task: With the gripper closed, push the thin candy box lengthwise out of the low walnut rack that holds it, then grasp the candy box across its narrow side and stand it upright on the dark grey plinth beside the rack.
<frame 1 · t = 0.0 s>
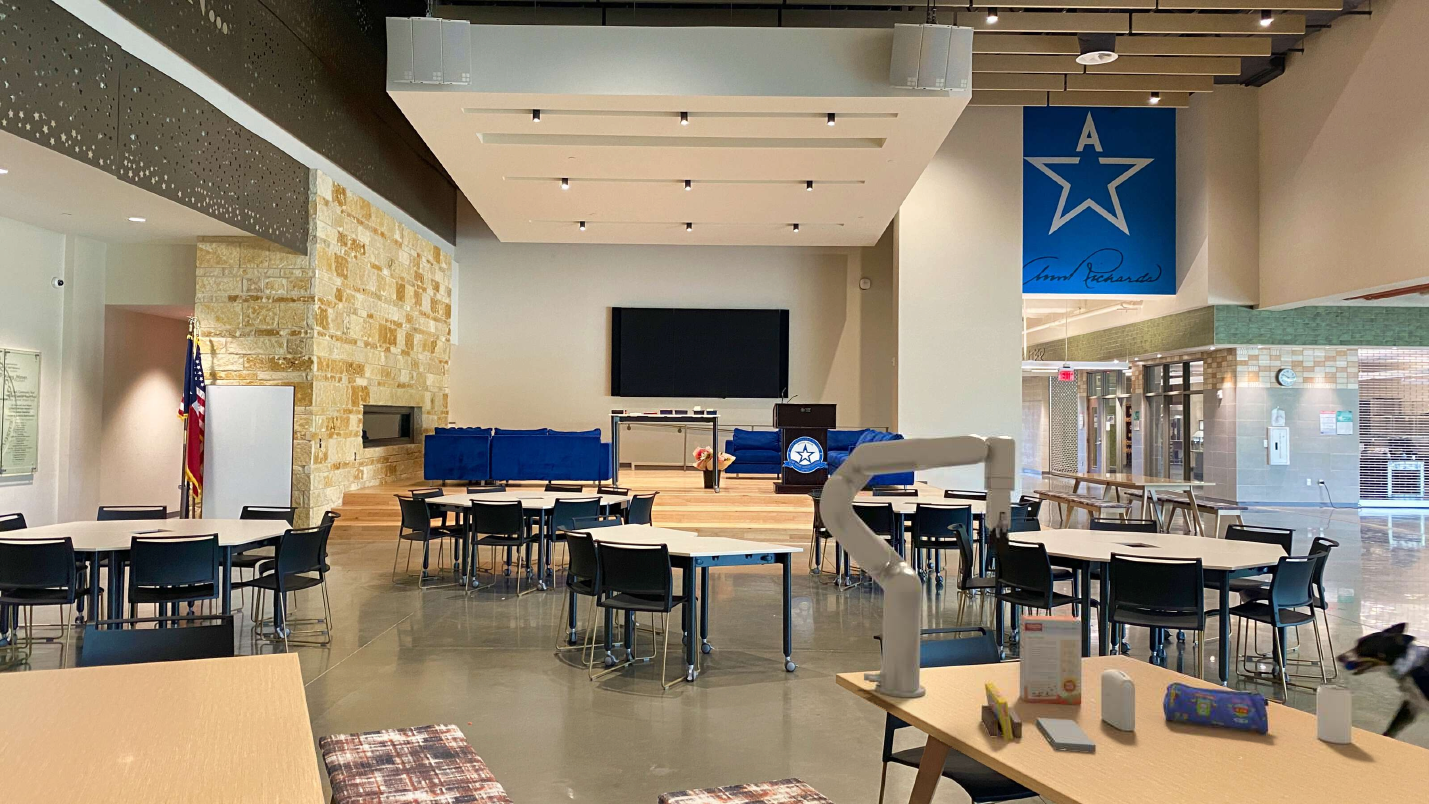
hand: (998, 551, 235), 37 cm above the table, tool pointing down, fingers open, 9 cm apart
grey plinth: (1064, 737, 201), on the table
photo printer: (1117, 725, 212), on the table
candy box: (1000, 729, 206), on the table
pencil case: (1215, 728, 214), on the table
walnut rack: (1000, 729, 206), on the table
can: (1333, 741, 206), on the table
cracker box: (1049, 701, 232), on the table
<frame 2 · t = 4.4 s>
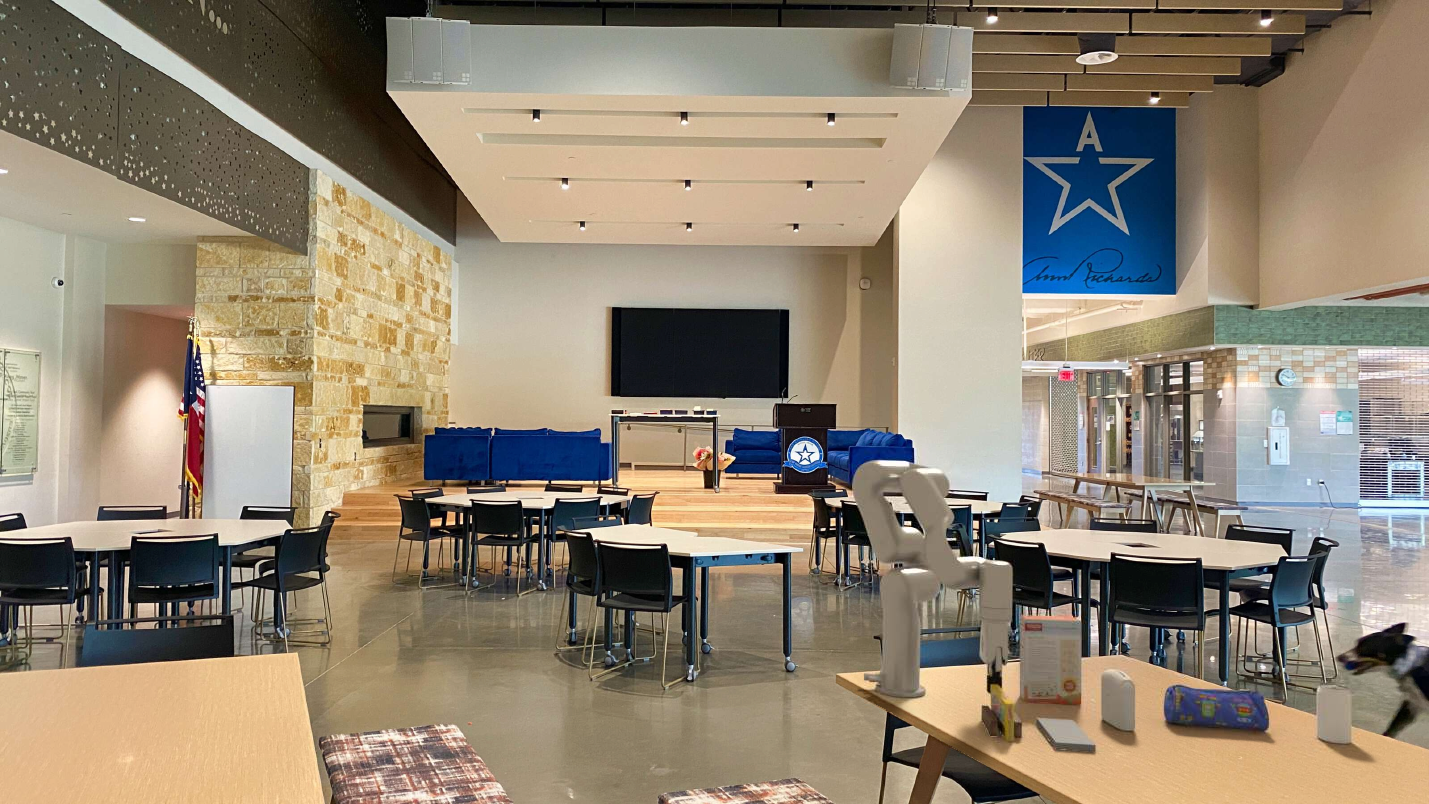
hand: (994, 692, 216), 6 cm above the table, tool pointing down, fingers closed
candy box: (1001, 731, 205), on the table, touching gripper
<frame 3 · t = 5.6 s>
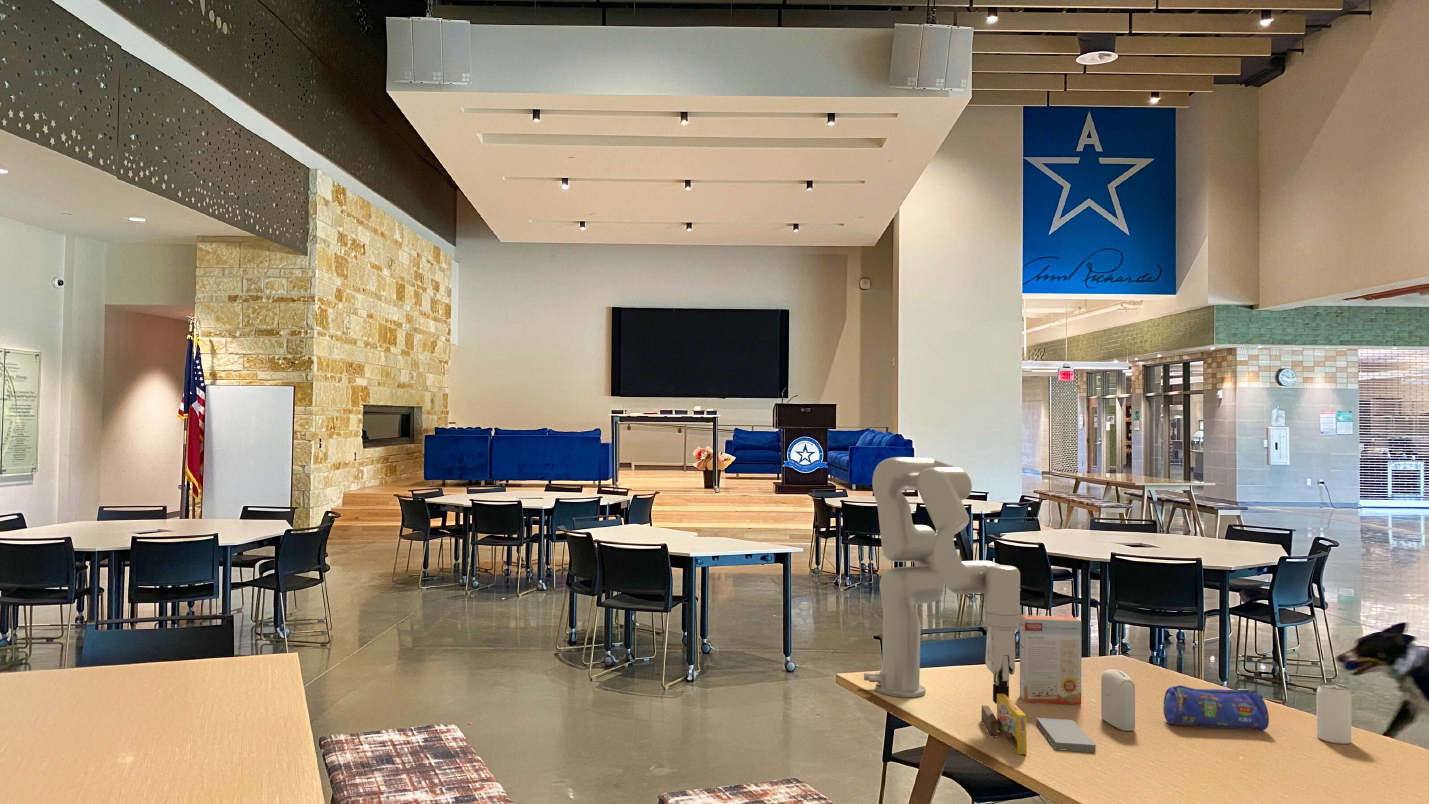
hand: (1000, 702, 207), 6 cm above the table, tool pointing down, fingers closed
candy box: (1010, 743, 197), on the table, touching gripper
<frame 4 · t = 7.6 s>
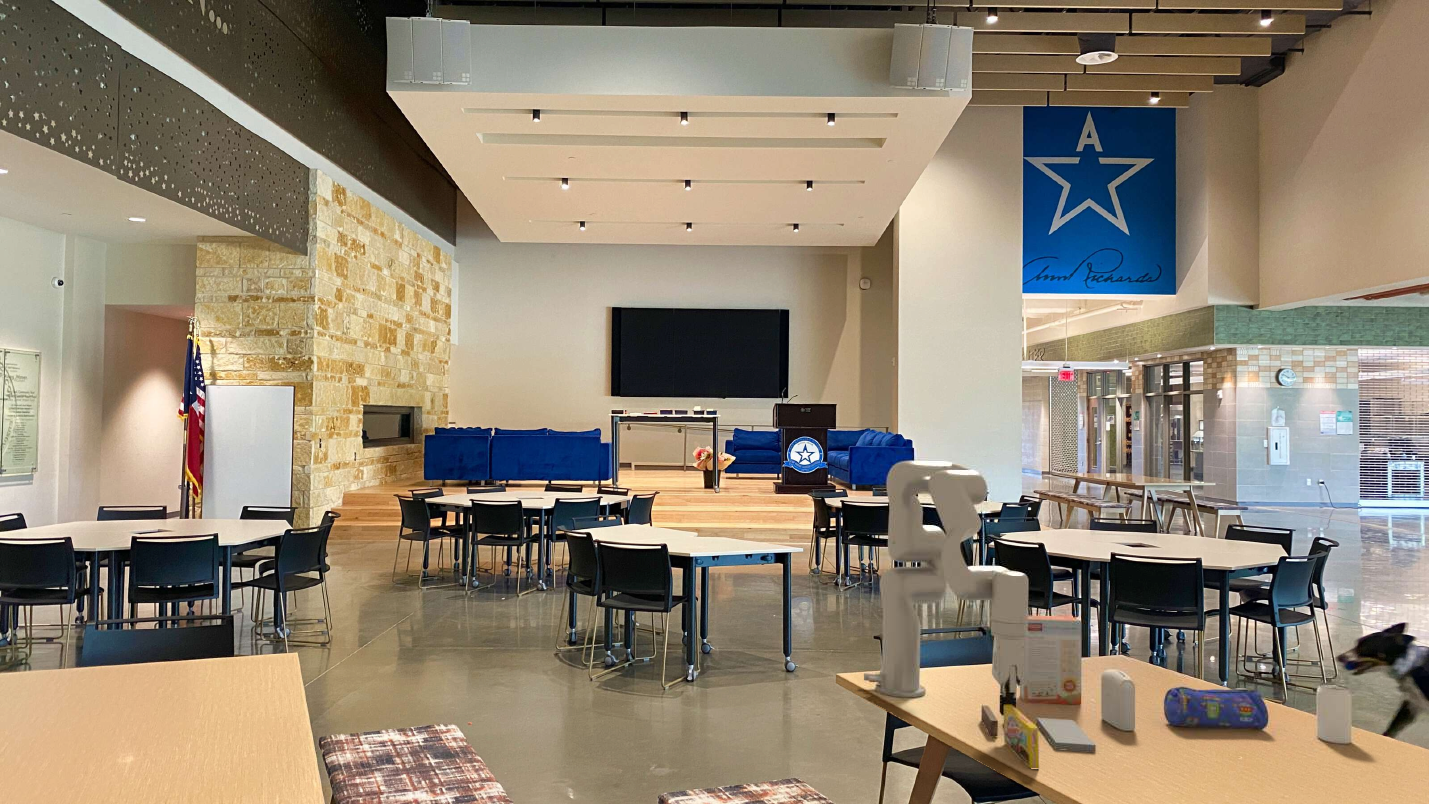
hand: (1007, 714, 198), 5 cm above the table, tool pointing down, fingers closed
candy box: (1020, 757, 188), on the table, touching gripper
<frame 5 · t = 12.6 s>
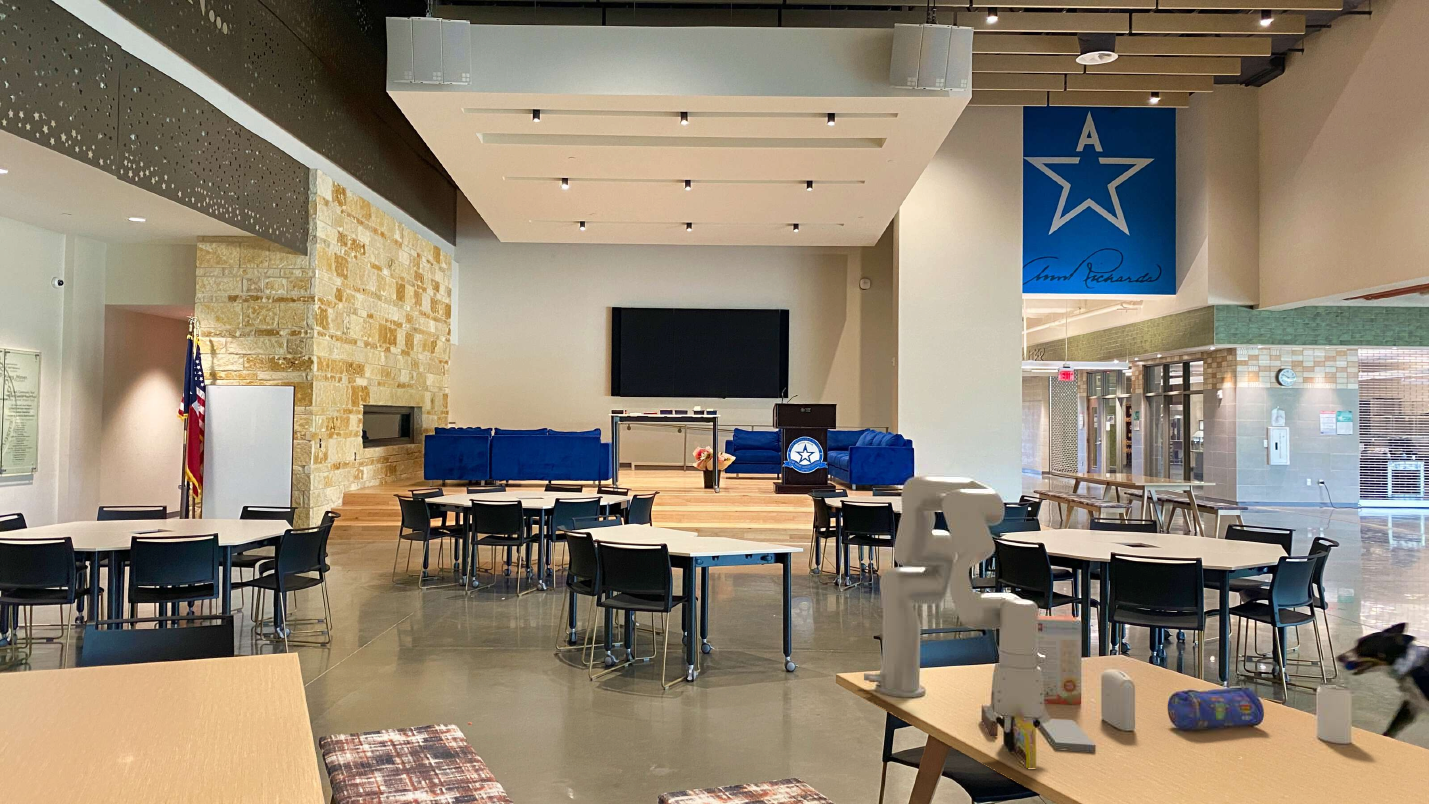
hand: (1017, 749, 189), 1 cm above the table, tool pointing down, fingers closed on candy box, 2 cm apart
candy box: (1018, 757, 188), on the table, touching gripper
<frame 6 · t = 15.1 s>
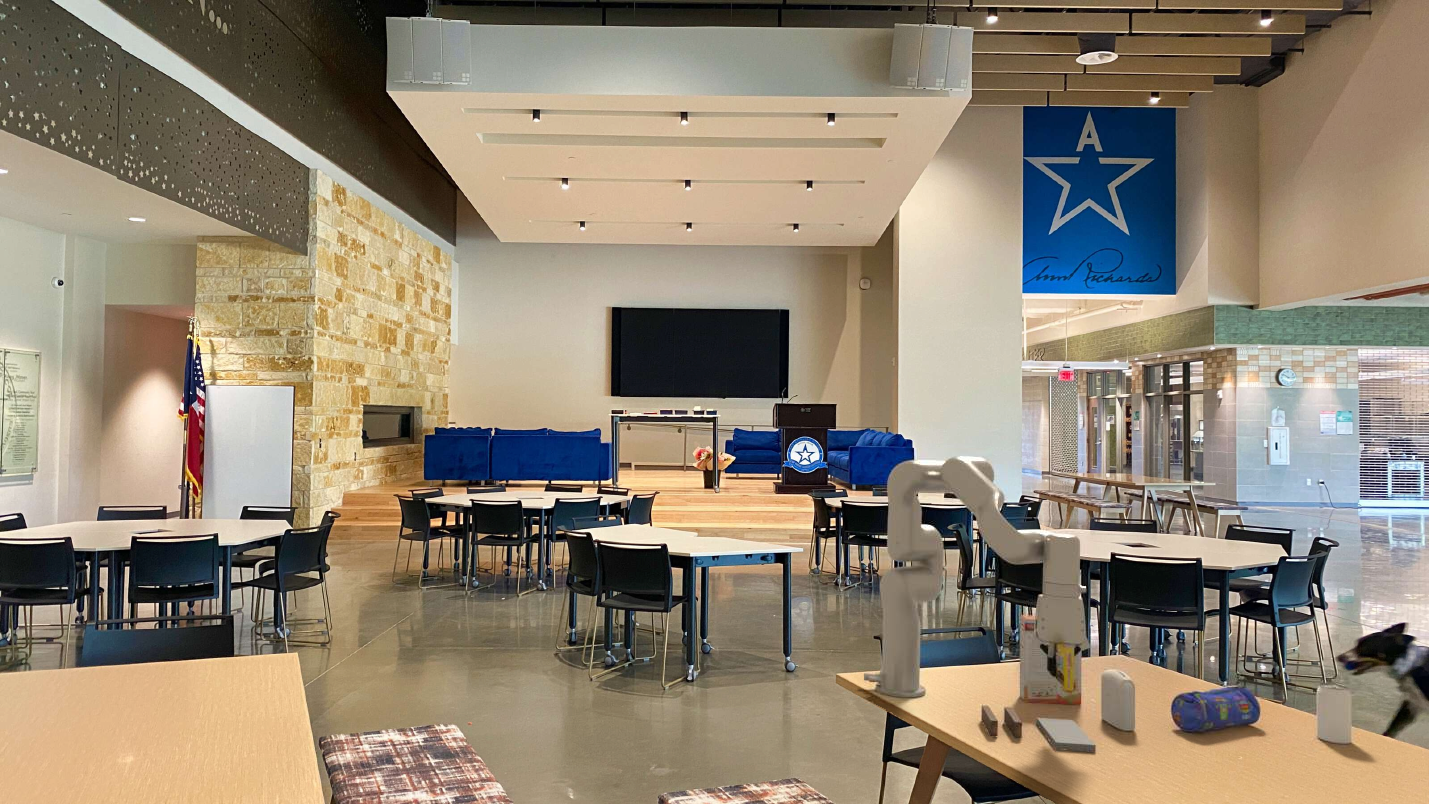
hand: (1059, 674, 201), 14 cm above the table, tool pointing down, fingers closed on candy box
candy box: (1059, 681, 200), point 13 cm above the table, touching gripper
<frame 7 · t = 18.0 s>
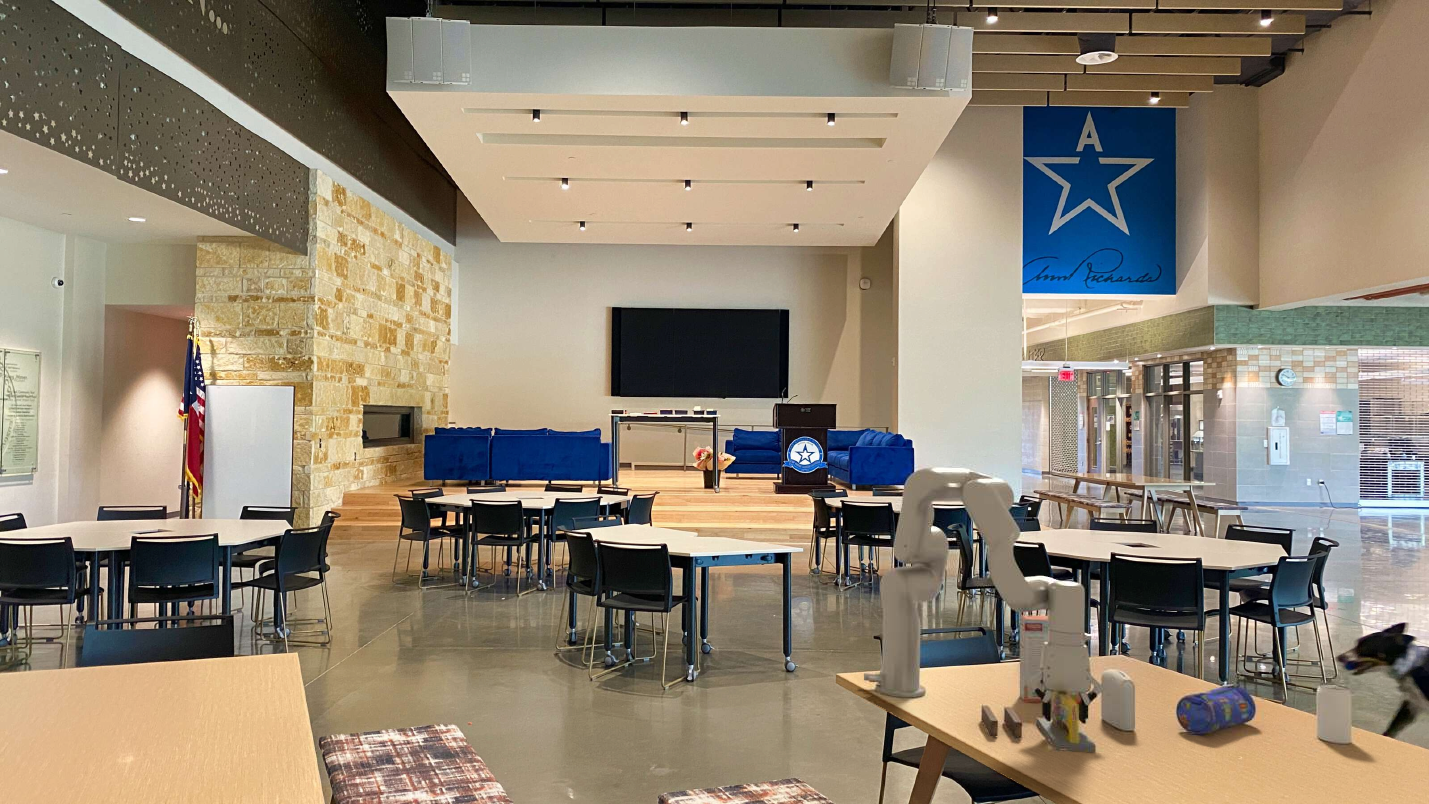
hand: (1064, 720, 202), 4 cm above the table, tool pointing down, fingers open, 6 cm apart
candy box: (1064, 732, 201), point 1 cm above the table, touching grey plinth
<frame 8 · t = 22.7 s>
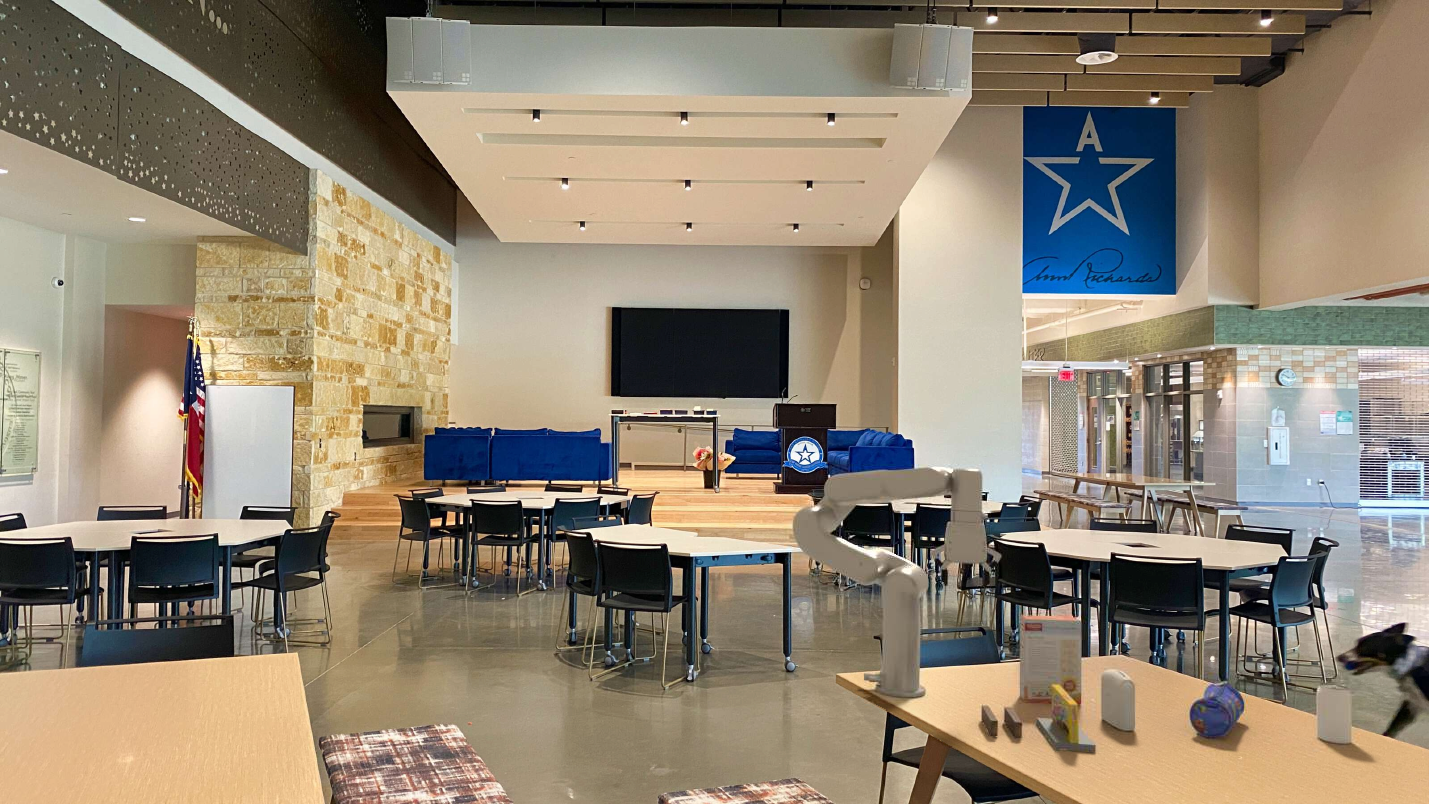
hand: (965, 586, 231), 28 cm above the table, tool pointing down, fingers open, 9 cm apart
at the end: candy box inside the target area on the grey plinth (1.0 cm from its centre), point 1.3 cm above the grey plinth's base; candy box tilted 0° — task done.
